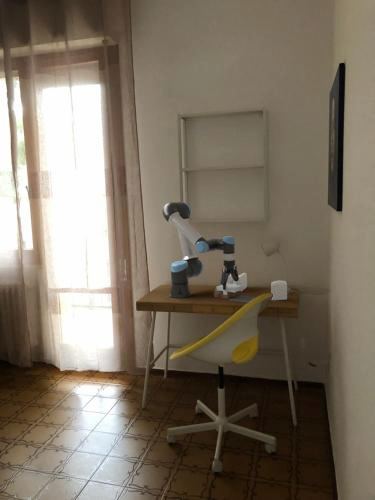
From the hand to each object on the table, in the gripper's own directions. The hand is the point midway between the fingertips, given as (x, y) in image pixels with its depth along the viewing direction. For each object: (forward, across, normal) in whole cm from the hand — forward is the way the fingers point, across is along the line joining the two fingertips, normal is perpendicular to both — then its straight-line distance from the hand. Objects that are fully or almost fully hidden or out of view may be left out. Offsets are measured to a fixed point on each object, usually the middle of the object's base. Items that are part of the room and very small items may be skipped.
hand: (230, 292), depth 272 cm
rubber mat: (+3, 0, -12) cm, 12 cm away
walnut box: (+3, 0, +4) cm, 5 cm away
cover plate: (-2, 0, 0) cm, 2 cm away
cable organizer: (+4, +21, +8) cm, 23 cm away
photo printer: (+4, +11, -30) cm, 32 cm away
